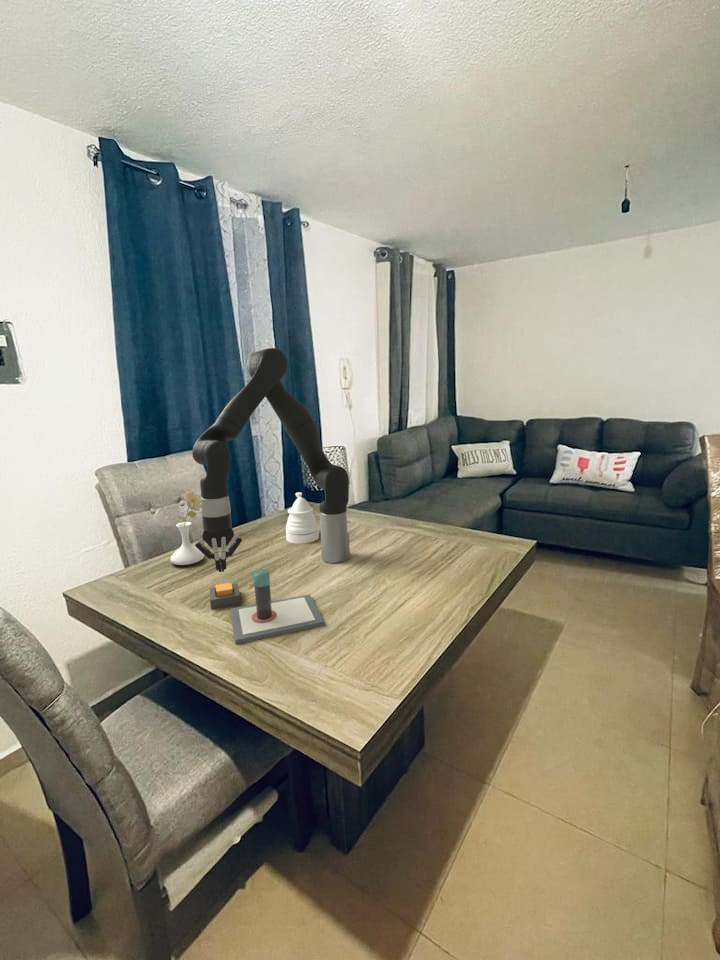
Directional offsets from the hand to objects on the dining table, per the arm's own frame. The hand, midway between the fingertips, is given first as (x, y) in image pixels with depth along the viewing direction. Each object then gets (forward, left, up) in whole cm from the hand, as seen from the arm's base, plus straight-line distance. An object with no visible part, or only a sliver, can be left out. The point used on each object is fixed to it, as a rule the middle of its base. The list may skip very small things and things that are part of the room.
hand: (221, 570), depth 125 cm
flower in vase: (+10, -35, -9) cm, 37 cm away
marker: (-9, +16, -8) cm, 20 cm away
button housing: (0, 0, -9) cm, 9 cm away
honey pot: (-32, -42, -9) cm, 54 cm away
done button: (0, 0, -7) cm, 7 cm away
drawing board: (-12, +16, -9) cm, 22 cm away
